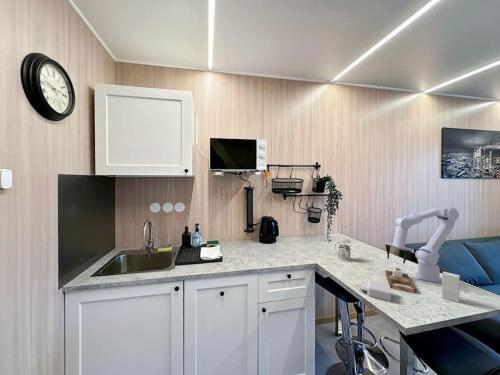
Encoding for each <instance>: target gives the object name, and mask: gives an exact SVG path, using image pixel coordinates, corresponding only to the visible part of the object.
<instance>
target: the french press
mask: <svg viewBox="0 0 500 375" xmlns="http://www.w3.org/2000/svg"><path fill="white" fill-rule="evenodd" d="M343 227H344V228H347V224H343ZM340 242H341V243H344V244H340ZM346 243H347V244H346ZM348 243H349V244H350V243H352V241H351V239H349V238H346V237H344V238H343V237H342V238H339V239H338V241H337V244H338V245H339V247H338V250H337V249H336V246H337V244H334V250H335V251H336V252H337V257H336V259H337V260H338V261H340V262H344V263H350V262H352V261H353V260H352V259H351V246H350V245H348Z"/></svg>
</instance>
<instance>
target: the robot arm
mask: <svg viewBox="0 0 500 375" xmlns="http://www.w3.org/2000/svg"><path fill="white" fill-rule="evenodd" d="M432 217H433V218H434V217H436V218H437V220H438V221H439V222H440V225H439V226H438V228H437V229H436V231H435V232H434V233H433V235H432V236H431V238H430V240H429V241H427V243H426V245H424V246H421V247H420V248H419V249H418V250H416V251H415V249H414V248H411V247H407V246H406V243H407V238H408V237H407V236H408V233H409V232H408V231H409V230H410V228H412V227H413V226H414V225H417V224H419V223H422V222H423V220H425V219H430V218H432ZM459 217H460V213H459V212H458V209H456V207H448V206H442V205H441V206H440V205H438V206H434V207H432V208H431V209H427V210H426V211H423V212H422V213H421V212H420V213H417V212H412V213H411V214H409V215H404V216H403V217H398V218H396V219H395V221H394V224H395V230H394V236H393V241H392V242H388V241H384V242H383V246H385V250H386V255H387V257H386V258H387V259H388V260H389V259H390V252H391V248H395V249H398V250H402V251H404V256H403V261H402V264H405V263H406V261H407V260H408V258H409V257H410V255H412V253H413V254H414V253H415V254H414V255H415V258H416V259H417V273H415V275H416V277H417V279H418V280H422V281H427V282H435V283H441V281H440V279H441V278H440V274H441V271H440V266H439V265H438V262H439V258H440V253H439V252H438V251H439V249H440V248H441V246H443V243H444V242H445V241H446V239H447V237H448V236H449V235H450V233H451V232H452V230H453V229H454V228H455V225H456V221H457V220H458V218H459ZM405 265H406V264H405Z"/></svg>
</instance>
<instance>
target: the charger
mask: <svg viewBox="0 0 500 375" xmlns="http://www.w3.org/2000/svg"><path fill="white" fill-rule="evenodd" d="M355 287H358V288H359V290H361V291H365V292H366V293H367V294H366V295H367V296H368V297H372V298H375V299H380V300H382V301H383V300H384V301H387V302H391V301H392V288H390V285H389V284H387V283H386V284H385V283H382V282H376V281H371V280H368V281H367V284H366V283H363V282H362V283H360V284H358V283H355Z"/></svg>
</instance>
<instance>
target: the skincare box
mask: <svg viewBox="0 0 500 375" xmlns="http://www.w3.org/2000/svg"><path fill="white" fill-rule="evenodd" d="M441 275H442V276H441V297H442V299H445V300H448V301H451V300H452V301H451V302H456V303H458V302H459V303H460V289H461V288H460V285H461V284H460V279H461V278H460V277H461V276H460V274H456V273H452V272H451V273H450V272H447V271H443V272H442V273H441Z"/></svg>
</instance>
